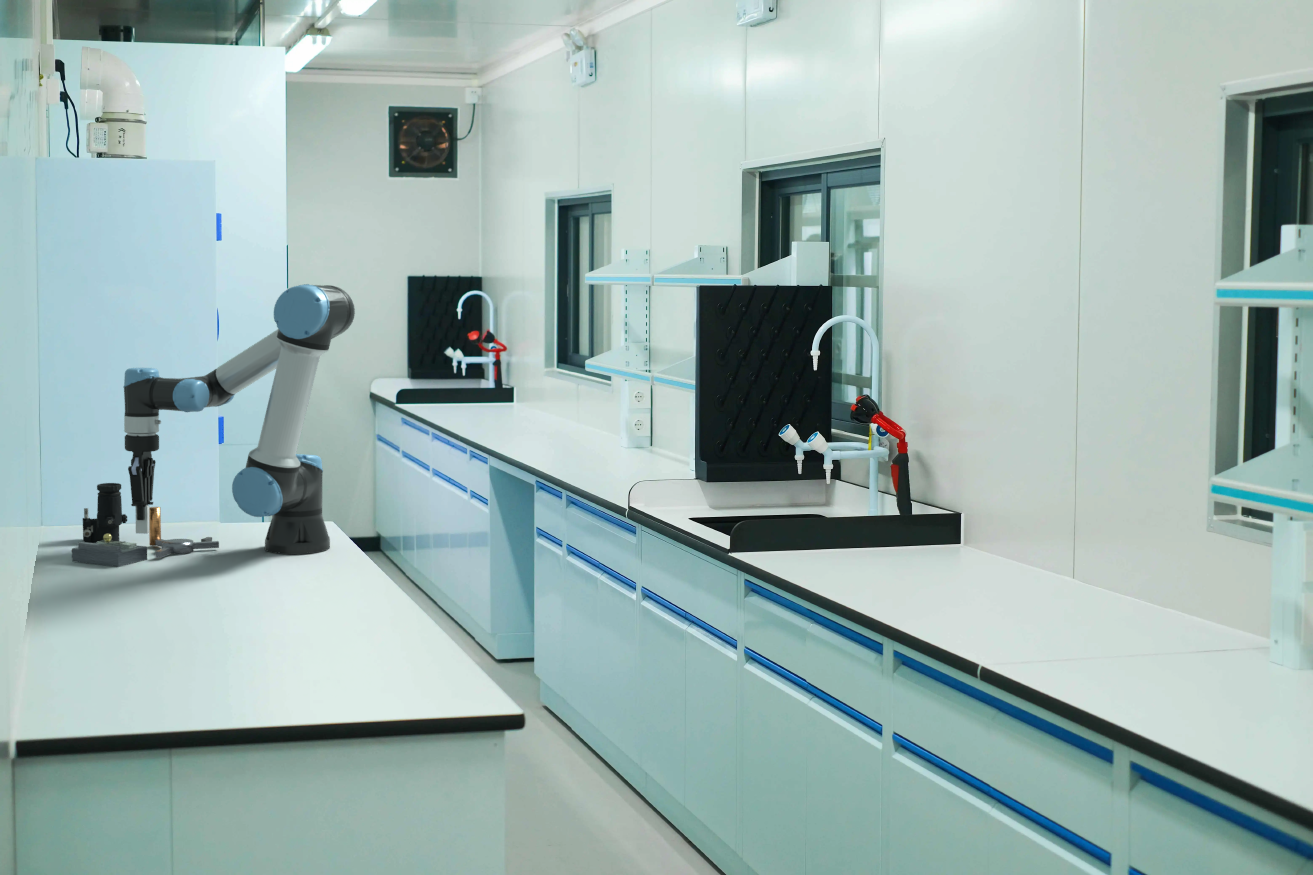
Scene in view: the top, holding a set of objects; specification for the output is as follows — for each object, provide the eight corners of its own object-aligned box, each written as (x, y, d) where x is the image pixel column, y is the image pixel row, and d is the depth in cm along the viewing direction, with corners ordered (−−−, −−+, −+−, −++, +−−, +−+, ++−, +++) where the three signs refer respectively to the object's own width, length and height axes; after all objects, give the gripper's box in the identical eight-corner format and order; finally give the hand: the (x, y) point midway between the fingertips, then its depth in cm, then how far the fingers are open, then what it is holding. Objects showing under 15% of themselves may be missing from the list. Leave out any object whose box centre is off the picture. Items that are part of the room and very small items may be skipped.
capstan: (221, 548, 304) (221, 510, 303) (158, 559, 291) (157, 519, 290) (182, 539, 313) (182, 502, 312) (120, 549, 300) (119, 511, 299)
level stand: (147, 559, 292) (146, 535, 291) (118, 567, 283) (118, 542, 283) (101, 554, 296) (101, 530, 296) (72, 561, 288) (71, 537, 287)
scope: (81, 483, 311) (125, 481, 316) (82, 538, 313) (126, 536, 317) (81, 488, 304) (127, 486, 308) (83, 545, 306) (128, 542, 310)
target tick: (205, 543, 311) (205, 539, 311) (201, 543, 312) (201, 539, 311) (212, 541, 314) (212, 537, 314) (207, 540, 314) (207, 536, 314)
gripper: (149, 437, 293) (150, 538, 296) (166, 431, 306) (167, 528, 309) (116, 436, 293) (117, 537, 295) (134, 430, 306) (135, 527, 308)
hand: (142, 532), depth 302 cm, fingers closed
